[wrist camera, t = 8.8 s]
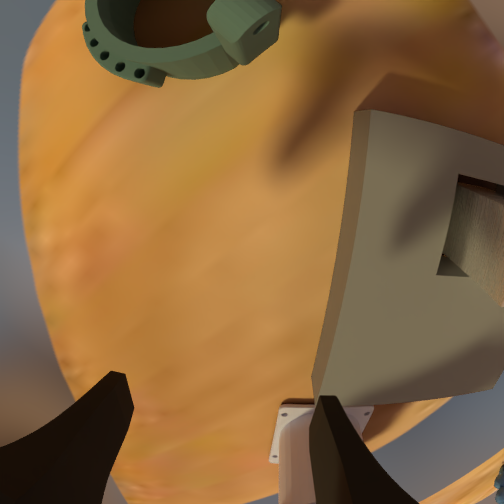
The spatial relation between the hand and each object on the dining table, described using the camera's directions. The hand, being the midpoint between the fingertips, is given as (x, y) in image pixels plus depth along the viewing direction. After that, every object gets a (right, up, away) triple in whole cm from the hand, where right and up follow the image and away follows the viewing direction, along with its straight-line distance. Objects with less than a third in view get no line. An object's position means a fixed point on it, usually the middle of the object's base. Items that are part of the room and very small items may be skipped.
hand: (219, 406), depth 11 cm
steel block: (+14, +8, +6) cm, 18 cm away
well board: (+14, +4, +8) cm, 17 cm away
